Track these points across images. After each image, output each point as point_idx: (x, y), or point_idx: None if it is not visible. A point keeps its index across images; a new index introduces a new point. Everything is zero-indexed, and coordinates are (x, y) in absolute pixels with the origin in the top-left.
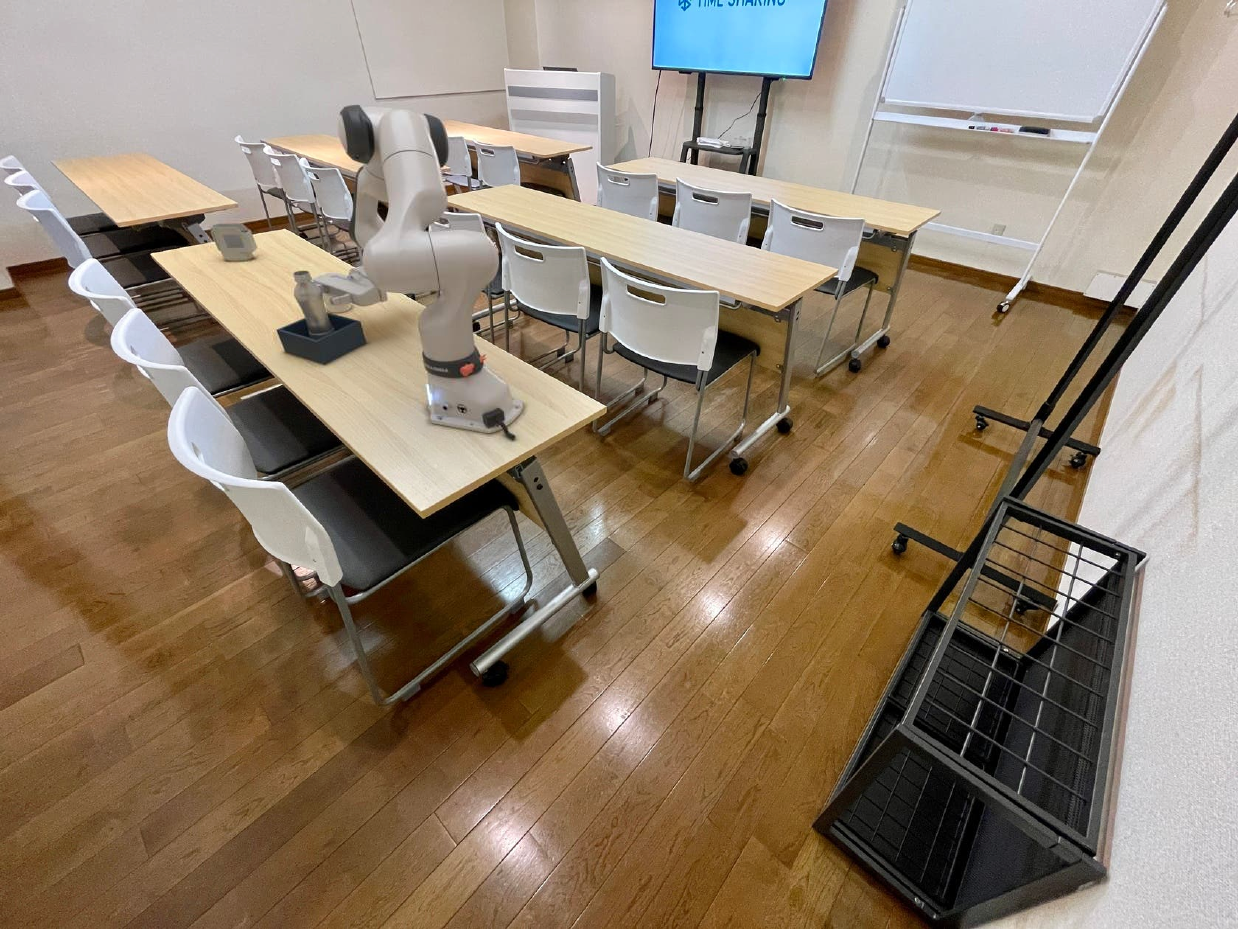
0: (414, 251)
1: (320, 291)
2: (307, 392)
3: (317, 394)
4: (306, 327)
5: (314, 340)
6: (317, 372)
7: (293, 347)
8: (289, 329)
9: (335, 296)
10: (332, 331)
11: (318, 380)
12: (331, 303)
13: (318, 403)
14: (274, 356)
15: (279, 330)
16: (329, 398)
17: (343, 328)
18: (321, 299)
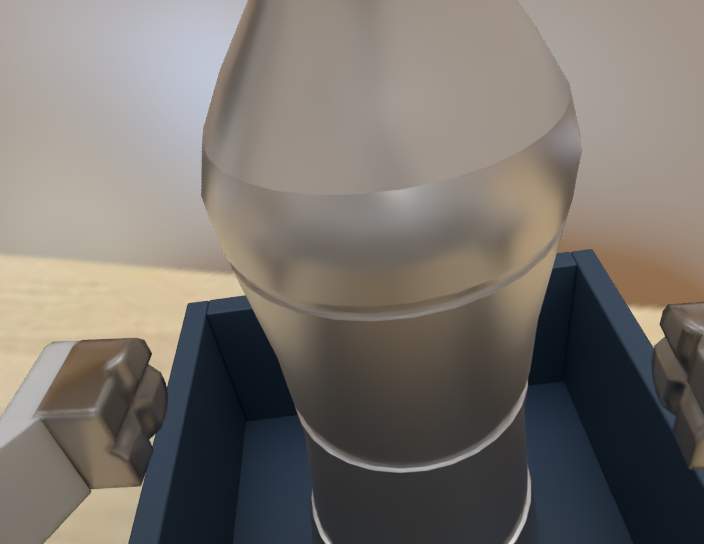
0: None
1: (222, 200)
2: (130, 274)
3: (81, 285)
4: (656, 485)
5: (215, 305)
6: None
7: None
8: (597, 329)
9: (89, 412)
10: (316, 533)
11: (150, 331)
12: (152, 380)
13: (40, 265)
14: None
15: (559, 253)
16: (16, 295)
17: (139, 538)
18: (233, 268)
